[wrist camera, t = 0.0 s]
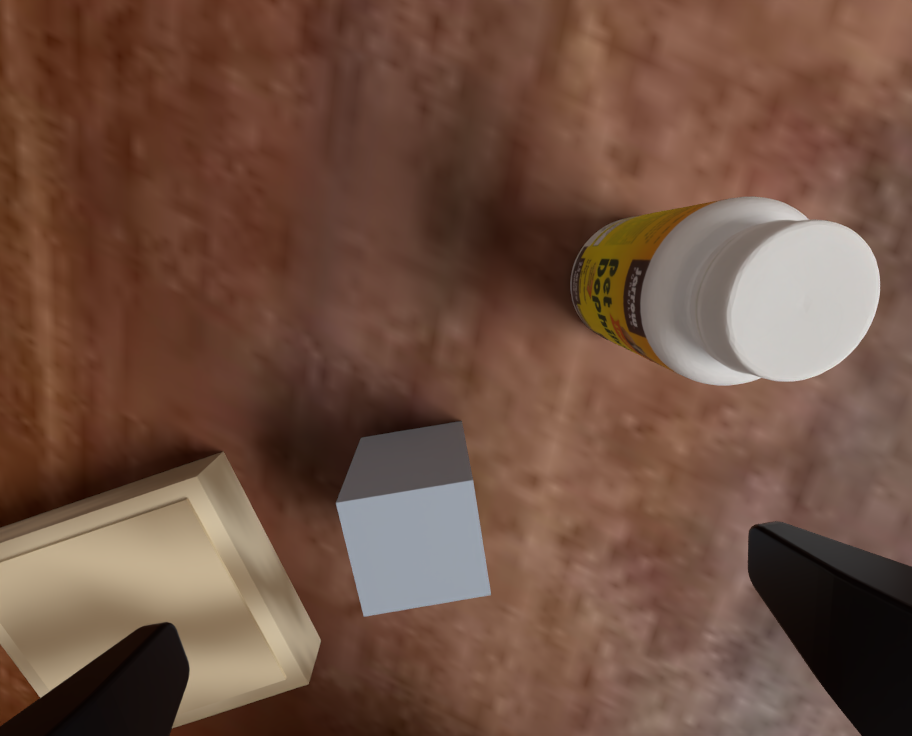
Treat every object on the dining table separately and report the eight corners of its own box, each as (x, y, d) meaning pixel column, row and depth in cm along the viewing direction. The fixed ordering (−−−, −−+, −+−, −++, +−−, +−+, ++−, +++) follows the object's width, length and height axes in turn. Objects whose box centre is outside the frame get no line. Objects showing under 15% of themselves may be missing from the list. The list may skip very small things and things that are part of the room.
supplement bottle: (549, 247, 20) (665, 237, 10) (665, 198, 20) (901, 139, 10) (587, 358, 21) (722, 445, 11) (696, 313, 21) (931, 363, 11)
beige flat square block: (322, 634, 25) (307, 686, 22) (124, 699, 25) (82, 760, 22) (227, 447, 22) (194, 477, 19) (4, 523, 22) (-64, 565, 19)
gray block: (475, 509, 23) (491, 594, 17) (380, 525, 23) (363, 616, 17) (461, 420, 22) (472, 480, 16) (361, 437, 22) (335, 502, 16)
